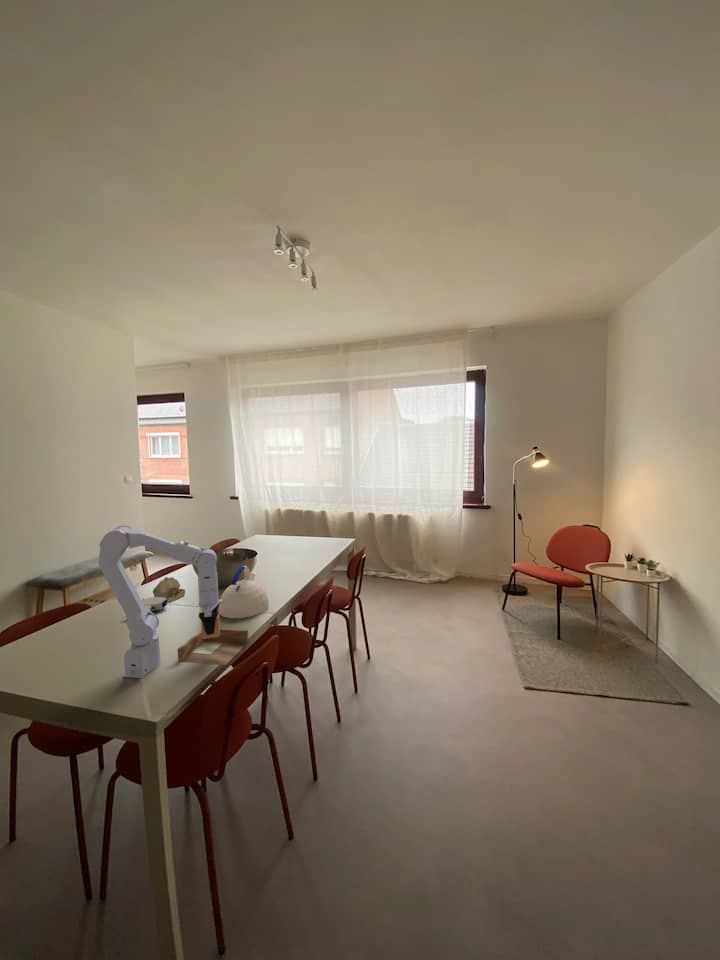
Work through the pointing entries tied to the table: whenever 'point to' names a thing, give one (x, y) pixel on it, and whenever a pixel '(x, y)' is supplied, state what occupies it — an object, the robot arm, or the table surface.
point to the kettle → (243, 597)
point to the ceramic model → (169, 589)
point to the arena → (213, 647)
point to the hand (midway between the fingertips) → (210, 630)
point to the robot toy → (155, 603)
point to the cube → (216, 630)
